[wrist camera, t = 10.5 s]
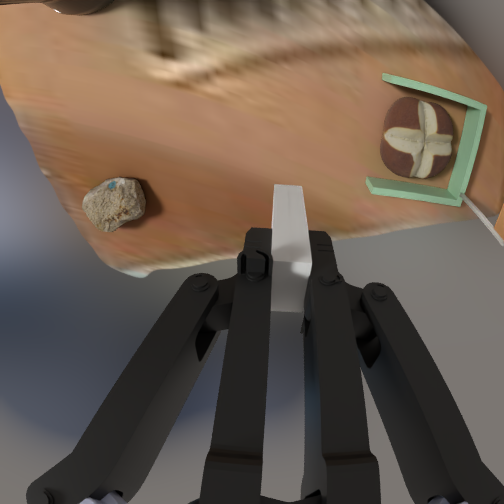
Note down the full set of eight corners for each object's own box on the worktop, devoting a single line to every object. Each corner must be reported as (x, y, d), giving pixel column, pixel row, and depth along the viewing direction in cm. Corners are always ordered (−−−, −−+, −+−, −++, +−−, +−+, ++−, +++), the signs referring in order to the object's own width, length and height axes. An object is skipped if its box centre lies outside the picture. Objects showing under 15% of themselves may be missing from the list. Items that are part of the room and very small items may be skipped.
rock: (156, 206, 46) (146, 220, 42) (107, 227, 49) (96, 242, 46) (132, 165, 42) (120, 176, 38) (84, 192, 45) (71, 205, 41)
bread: (370, 165, 39) (380, 179, 35) (387, 87, 32) (400, 93, 28) (435, 179, 39) (450, 195, 35) (455, 110, 32) (473, 119, 28)
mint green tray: (382, 72, 31) (439, 90, 18) (473, 99, 30) (544, 134, 18) (365, 182, 40) (399, 248, 28) (450, 195, 40) (499, 257, 27)
